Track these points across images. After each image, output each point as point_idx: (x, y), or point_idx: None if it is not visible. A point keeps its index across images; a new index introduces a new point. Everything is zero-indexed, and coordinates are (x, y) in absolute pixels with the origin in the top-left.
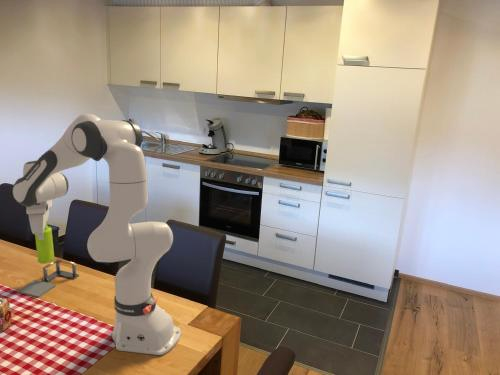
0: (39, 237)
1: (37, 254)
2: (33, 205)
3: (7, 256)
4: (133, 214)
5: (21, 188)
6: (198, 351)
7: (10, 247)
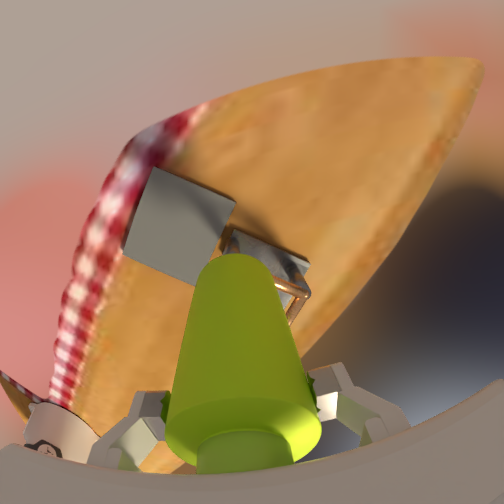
0: (135, 412)
1: (208, 279)
2: None
3: (424, 64)
4: None
5: None
6: None
7: (470, 72)
